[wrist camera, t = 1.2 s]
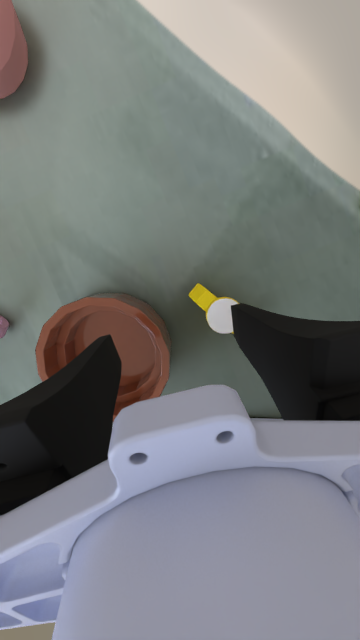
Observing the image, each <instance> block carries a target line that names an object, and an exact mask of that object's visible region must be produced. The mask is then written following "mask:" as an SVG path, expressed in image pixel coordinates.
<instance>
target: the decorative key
mask: <svg viewBox="0 0 360 640" xmlns="http://www.w3.org/2000/svg"><path fill="white" fill-rule="evenodd" d="M8 326H9V323H8V321H7V320H6V319H5V318H4V317H2V316H1V315H0V338H2V337H3V336H4V335H5V334H6V331H7V329H8Z"/></svg>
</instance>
